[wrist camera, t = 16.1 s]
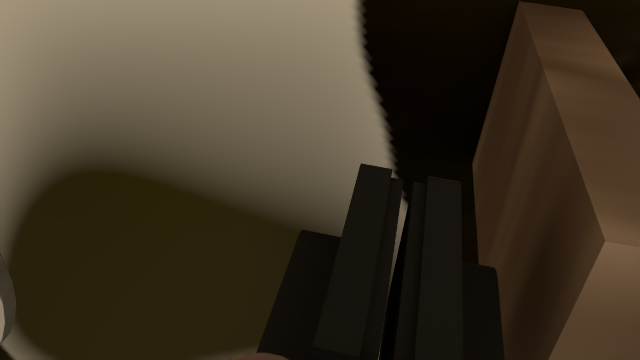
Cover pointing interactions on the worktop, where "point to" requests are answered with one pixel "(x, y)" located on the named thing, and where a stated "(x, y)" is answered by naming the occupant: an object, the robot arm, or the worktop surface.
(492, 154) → the domino
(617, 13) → the worktop surface
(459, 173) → the worktop surface
